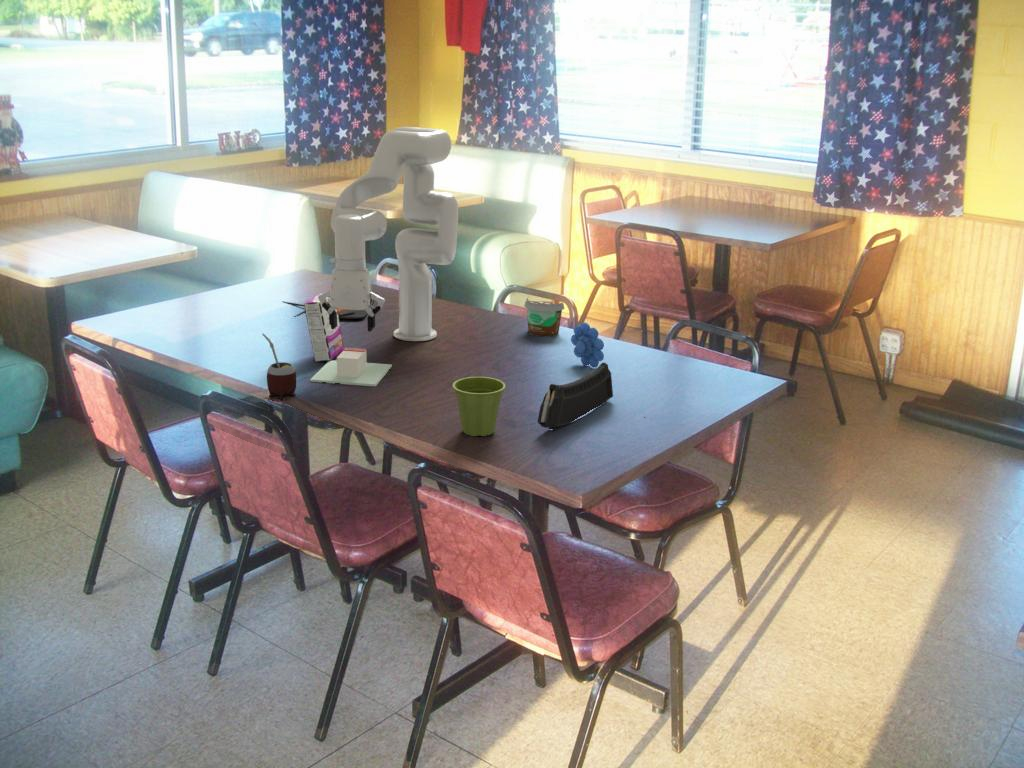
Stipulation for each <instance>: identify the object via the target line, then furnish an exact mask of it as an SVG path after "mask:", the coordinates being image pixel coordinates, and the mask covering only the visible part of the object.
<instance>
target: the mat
mask: <svg viewBox="0 0 1024 768" xmlns="http://www.w3.org/2000/svg"><path fill="white" fill-rule="evenodd" d="M392 367H393V365H392V364H389V363H388V364H387V363H377V362H376V363H375V362H367V368H366V369H365V370H364V371H363V372H362V374H361V375H360V376H359V377H358V378H357V377H344V376H337V359H336V360H335V359H334V360H333V359H332V360H331V361H327V362H326V363H325V364H324V365H323V366H322V367H321V368H320V369H319V370H318V371H317V372H316V373H315V374H314V375H313V376H312V377H311V378H310V380H309V382H312V383H322V382H326V383H325V384H335V383H340V384H339V385H347V386H348V385H349V386H364V387H377V385H378V384H379V383H380V382H381V380H383V378H384V377H385V376H386V374H387V373H389V371H390V370H389V369H392Z"/></svg>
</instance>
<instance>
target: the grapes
mask: <svg viewBox="0 0 1024 768" xmlns="http://www.w3.org/2000/svg"><path fill="white" fill-rule="evenodd" d="M598 337H599V331H598V329H597V328H596V327H591V325H589V323H588V322H586V321H584V322H581V325H579V324H576V325H574V328H573V334H572V336H571V337H570V342H571V344H573V346H575V347H574V348H573V353H574V356H575V357H577V358H579V359H580V363H581V364H582V365H583V366H585V365H589V364H590V365H589V366H590V367H592V368H594V367H595V368H598V367H599V365H600V364H599V362H602V361H604V358H605V354H604V352H603V351H602V350H603V349H604V347H605V343H604V341H603V340H602V339H601V338H598Z"/></svg>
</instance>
